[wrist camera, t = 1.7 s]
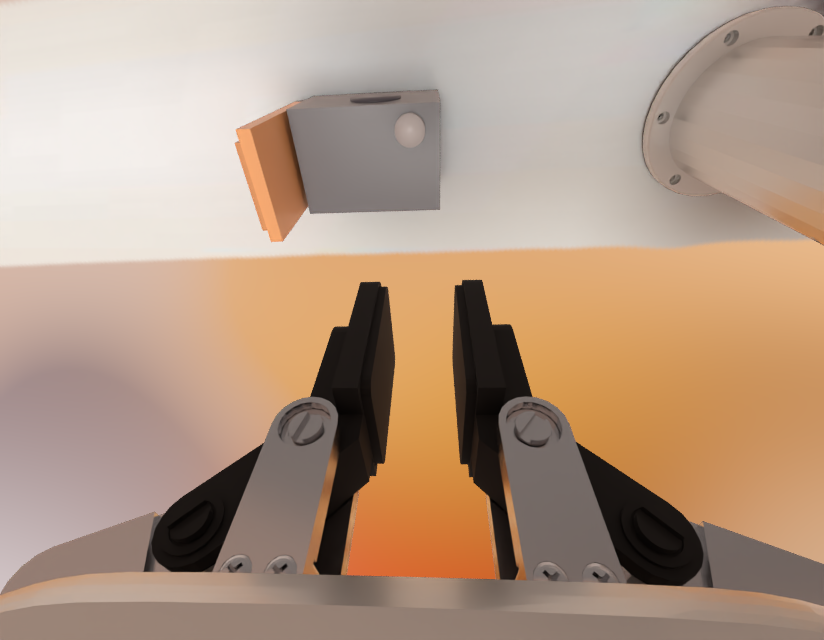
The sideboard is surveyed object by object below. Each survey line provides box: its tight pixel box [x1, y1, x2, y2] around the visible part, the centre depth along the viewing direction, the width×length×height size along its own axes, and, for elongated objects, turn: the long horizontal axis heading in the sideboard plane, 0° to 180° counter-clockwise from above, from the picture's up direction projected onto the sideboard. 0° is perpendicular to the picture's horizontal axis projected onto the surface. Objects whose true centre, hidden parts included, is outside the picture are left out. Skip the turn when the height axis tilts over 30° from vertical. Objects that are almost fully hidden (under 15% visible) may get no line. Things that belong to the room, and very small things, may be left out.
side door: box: [235, 100, 308, 242], centre depth 26 cm, size 1×7×12 cm, turn 2°
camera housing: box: [286, 90, 440, 214], centre depth 28 cm, size 10×7×8 cm
